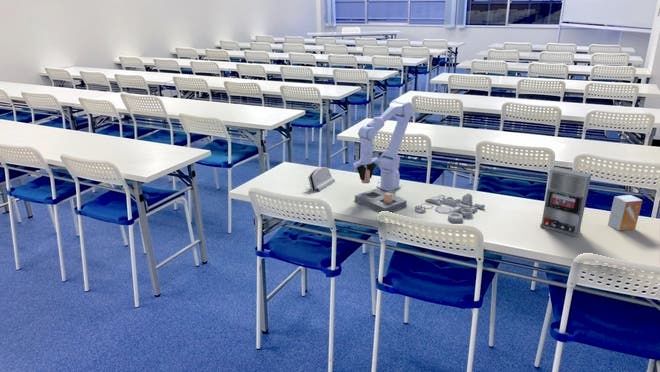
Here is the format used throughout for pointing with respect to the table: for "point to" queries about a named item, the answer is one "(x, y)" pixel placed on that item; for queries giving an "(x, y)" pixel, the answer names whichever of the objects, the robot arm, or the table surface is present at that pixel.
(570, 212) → the cassette tape recorder
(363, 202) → the housing
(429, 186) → the table surface
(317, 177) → the hinge
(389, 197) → the fitted pink peg
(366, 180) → the pink rounded capsule
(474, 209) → the robot parts
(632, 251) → the table surface
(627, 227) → the small box
